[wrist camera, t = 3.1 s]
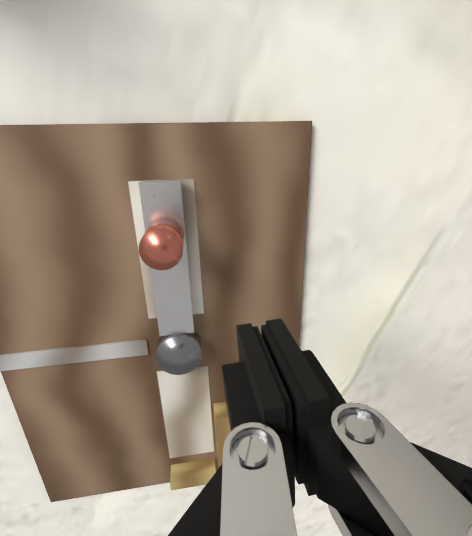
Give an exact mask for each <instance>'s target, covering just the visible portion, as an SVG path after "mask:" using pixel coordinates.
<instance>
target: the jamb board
mask: <svg viewBox="0 0 472 536" xmlns="http://www.w3.org/2000/svg"><path fill="white" fill-rule="evenodd" d="M311 131H312V121H282V122H207V123H132V124H56V125H0V371H1V373H2V376H3V378H4V381H5V384H6V386H7V389H8V391H9V394H10V397H11V399H12V402H13V404H14V407H15V410H16V412H17V415H18V418H19V420H20V423H21V425H22V428H23V431H24V433H25V436H26V438H27V441H28V444H29V446H30V449H31V451H32V454H33V457H34V459H35V462H36V464H37V467H38V470H39V472H40V475H41V477H42V480H43V483H44V485H45V488H46V491H47V493H48V496H49V498H50V501H51V502H54V501H60V500H66V499H72V498H78V497H84V496H90V495H96V494H102V493H108V492H114V491H120V490H126V489H132V488H138V487H144V486H150V485H156V484H162V483H168V482H170V486H171V490H176V489H182V488H188V487H193V486H199V485H205V484H207V483H208V482H209V481H210V479H211V478H212V477H213V475H214V474H215V473H216V471H217V470H218V469H219V467H220V466H221V465H222V463H223V447H224V442H225V439H226V438H227V436H228V434H229V433H230V432H231V429H230V423H229V417H228V411H227V405H226V398H225V391H224V384H223V375H222V366H221V365H224V364H230V363H236V362H239V354H238V343H237V332H236V325H241V324H247V323H251V324H252V326H253V327H254V326H258V328H259V331H260V333H261V325H266V321H267V320H273V319H279V318H281V319H282V320H283V322H284V324H285V325H286V327H287V328H288V330H289V332H290V333H291V335H292V337H293V338H294V340H295V341H296V343H297V345H298V346H299V337H300V320H301V303H302V286H303V269H304V252H305V234H306V217H307V200H308V183H309V166H310V149H311ZM168 180H181V188H182V199H183V210H184V221H185V233H186V244H187V255H188V266H189V277H190V288H191V299H192V310H193V321H194V331H195V332H196V333H197V334H198V336H199V338H200V341H201V354H202V357H201V361H200V363H199V365H198V366H197V367H196V368H195V369H194V370H193V371H191V372H189V373H187V374H183V375H173V374H169V373H167V372H165V371H163V370H162V369H161V368H160V367H159V366H158V364H157V361H156V352H157V347H158V341H159V338H160V337H161V336H160V335H159V328H158V320H157V313H156V306H155V299H154V292H153V285H152V277H151V270H150V267H149V266H147V265H146V264H145V263H144V262H143V261H142V259H141V257H140V255H139V243H140V241H141V239H142V237H143V235H144V234H145V227H144V220H143V213H142V206H141V199H140V191H139V184H138V182H141V181H168Z"/></svg>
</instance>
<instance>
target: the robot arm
mask: <svg viewBox="0 0 472 536" xmlns="http://www.w3.org/2000/svg"><path fill="white" fill-rule="evenodd" d="M236 332H237V343H238V354H239V362H236V363H230V364H224V365H221V366H222V375H223V384H224V391H225V398H226V405H227V411H228V417H229V423H230V429H231V432H230V433H229V434H228V436H227V438H226V439H225V442H224V447H223V463H222V465H221V466H220V467H219V469H218V470H217V471H216V473H215V474H214V475H213V477H212V478H211V479H210V481H209V482H208V483H207V485H206V486H205V487H204V488H203V490H202V491H201V492H200V494H199V495H198V496H197V498H196V499H195V500H194V502H193V503H192V504H191V506H190V507H189V508H188V510H187V511H186V512H185V514H184V515H183V516H182V518H181V519H180V520H179V522H178V523H177V524H176V526H175V527H174V528H173V530H172V531H171V532H170V534H169V535H168V536H297V531H296V525H295V519H294V513H293V507H294V505H295V478H296V480H297V482H298V484H302V483H304V485H305V487H306V490H307V493H308V496H311V495H315V494H316V495H317V497H318V498H319V499H320V500H322V501H324V502H325V503H327V504H328V507H329V510H330V513H331V515H332V517H333V519H334V521H335V523H336V524H337V526H338V528H339V530H340V532H341V533H342V535H343V536H472V468H470V467H468V466H466V465H463V464H461V463H458V462H456V461H454V460H451V459H449V458H447V457H444V456H442V455H439V454H437V453H435V452H432V451H430V450H428V449H425V448H423V447H420V446H418V445H416V444H413V443H411V442H409V441H408V440H407V439H406V438H405V437H404V436H403V435H402V434H401V433H400V432H399V431H398V430H397V429H396V428H395V427H394V426H393V425H392V424H391V423H390V422H389V421H388V420H387V419H386V418H385V417H384V416H383V415H382V414H381V413H379V412H378V411H377V410H375V409H373V408H371V407H369V406H367V405H364V404H360V403H346V402H345V400H344V399H343V397H342V396H341V394H340V393H339V391H338V390H337V388H336V387H335V385H334V384H333V382H332V381H331V379H330V378H329V376H328V375H327V373H326V372H325V370H324V369H323V367H322V366H321V364H320V363H319V361H318V360H317V358H316V357H315V355H314V354H313V353H312V352H311V351H310V350H306V351H301V350H300V348H299V346H298V345H297V343H296V341H295V340H294V338H293V337H292V335H291V333H290V332H289V330H288V328H287V327H286V325H285V324H284V322H283V320H282V319H281V318H279V319H273V320H267V321H266V325H261V333H260V331H259V328H258V326H254V327H253V326H252V324H251V323H247V324H241V325H236Z"/></svg>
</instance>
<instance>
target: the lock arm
mask: <svg viewBox="0 0 472 536" xmlns="http://www.w3.org/2000/svg"><path fill="white" fill-rule="evenodd" d="M138 184H139V191H140V199H141V206H142V213H143V220H144V227H145V234H144V235H143V237H142V239H141V241H140V243H139V255H140V257H141V259H142V261H143V262H144V263H145V264H146V265H147V266H149V267H150V270H151V277H152V285H153V292H154V299H155V306H156V313H157V320H158V328H159V335H160V336H161V337H160V338H159V341H158V347H157V352H156V361H157V364H158V366H159V367H160V368H161V369H162V370H163V371H165V372H167V373H169V374H173V375H183V374H187V373H189V372H191V371H193V370H194V369H195V368H196V367H197V366H198V365H199V363H200V361H201V357H202V354H201V341H200V338H199V336H198V334H197V333H196V332H195V331H194V321H193V310H192V299H191V288H190V277H189V266H188V255H187V244H186V233H185V221H184V210H183V199H182V188H181V180H168V181H141V182H138Z"/></svg>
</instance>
